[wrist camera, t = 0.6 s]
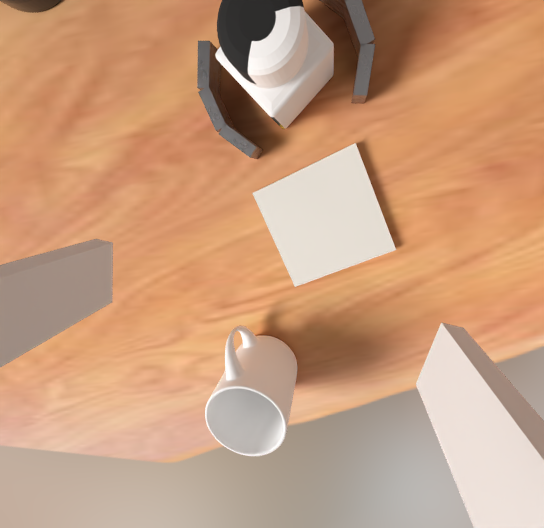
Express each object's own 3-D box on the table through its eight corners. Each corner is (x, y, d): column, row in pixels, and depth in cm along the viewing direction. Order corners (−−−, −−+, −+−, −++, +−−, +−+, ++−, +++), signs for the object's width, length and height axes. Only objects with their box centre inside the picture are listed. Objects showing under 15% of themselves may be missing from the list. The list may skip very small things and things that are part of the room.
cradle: (193, 64, 32) (180, 53, 29) (340, -35, 27) (341, -59, 24) (240, 167, 34) (232, 166, 31) (384, 92, 29) (390, 83, 26)
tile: (254, 192, 34) (252, 193, 34) (355, 143, 31) (355, 142, 30) (295, 284, 36) (295, 286, 36) (394, 248, 33) (396, 249, 32)
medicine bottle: (238, 81, 32) (184, 26, 20) (285, 19, 29) (255, -82, 18) (284, 131, 32) (258, 105, 21) (335, 74, 30) (336, 10, 18)
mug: (276, 302, 38) (255, 347, 28) (307, 382, 40) (298, 451, 30) (217, 318, 40) (178, 366, 30) (249, 393, 42) (223, 460, 32)
